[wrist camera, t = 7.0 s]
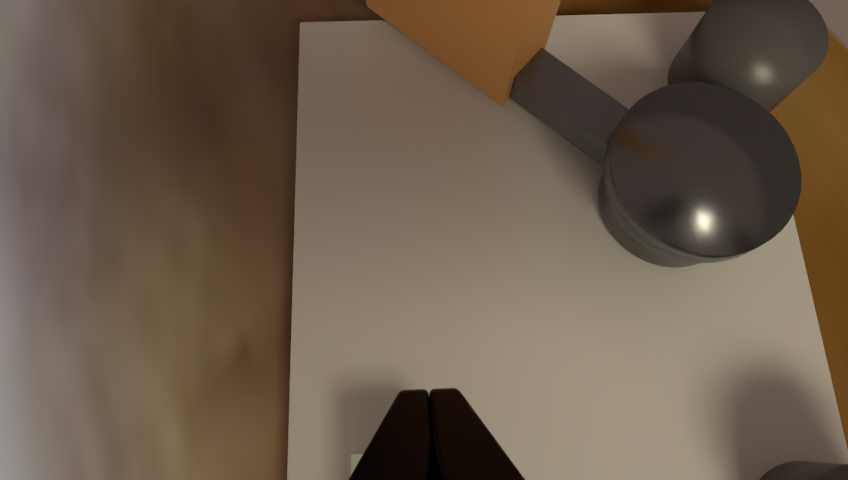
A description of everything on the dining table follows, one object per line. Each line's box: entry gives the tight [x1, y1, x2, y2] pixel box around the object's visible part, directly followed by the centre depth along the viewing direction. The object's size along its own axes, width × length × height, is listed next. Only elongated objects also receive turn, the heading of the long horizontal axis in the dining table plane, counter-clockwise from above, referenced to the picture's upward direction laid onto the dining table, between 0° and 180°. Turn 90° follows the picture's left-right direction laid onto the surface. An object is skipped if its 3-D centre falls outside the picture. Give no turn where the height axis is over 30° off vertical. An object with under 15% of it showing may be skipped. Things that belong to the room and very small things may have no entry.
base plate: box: [287, 0, 848, 480], centre depth 18 cm, size 22×16×4 cm
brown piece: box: [366, 0, 801, 267], centre depth 16 cm, size 15×5×10 cm, turn 49°
